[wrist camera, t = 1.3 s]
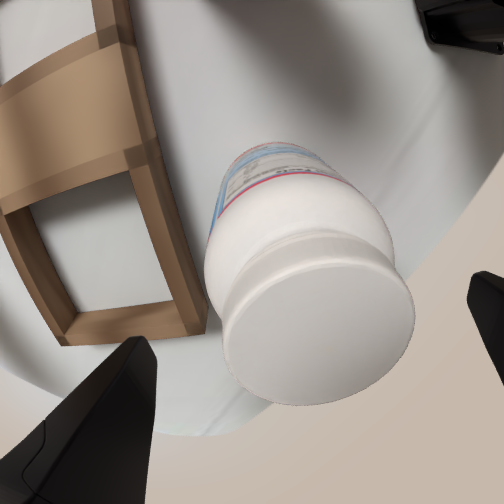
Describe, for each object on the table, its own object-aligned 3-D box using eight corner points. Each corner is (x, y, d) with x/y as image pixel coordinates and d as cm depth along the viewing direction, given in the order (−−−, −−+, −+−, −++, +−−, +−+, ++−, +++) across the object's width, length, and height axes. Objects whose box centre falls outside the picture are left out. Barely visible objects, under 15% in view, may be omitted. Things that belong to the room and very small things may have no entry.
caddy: (116, -90, 7) (101, -107, 5) (208, 307, 20) (204, 334, 18) (-20, -8, 8) (-41, -11, 6) (73, 324, 21) (61, 346, 19)
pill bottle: (300, 260, 19) (347, 430, 9) (203, 220, 17) (158, 390, 7) (352, 171, 16) (483, 289, 6) (250, 119, 15) (261, 167, 5)
